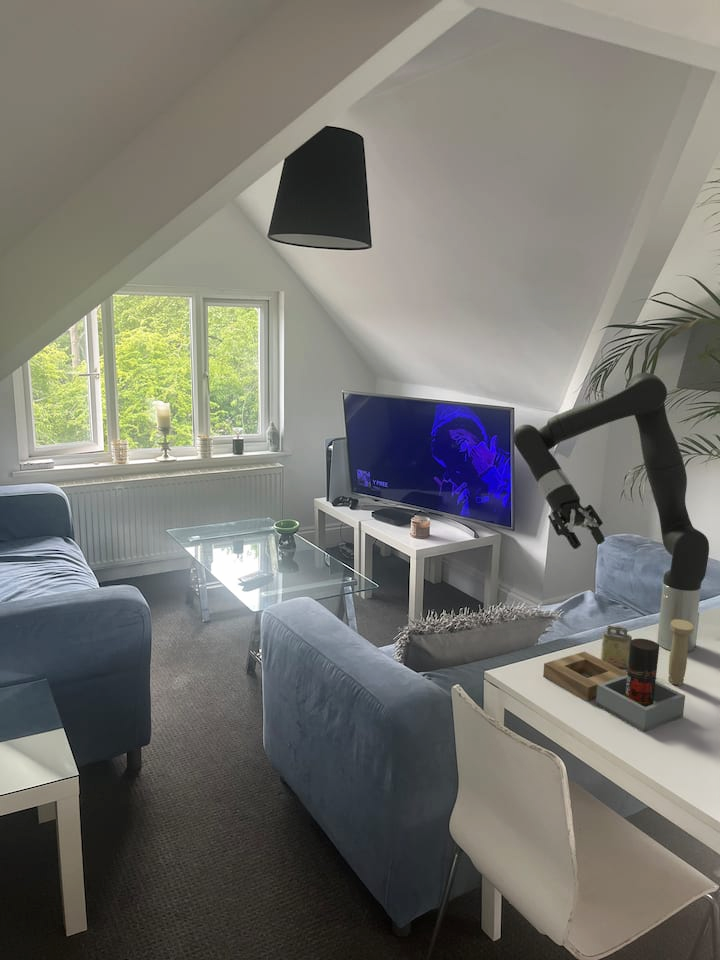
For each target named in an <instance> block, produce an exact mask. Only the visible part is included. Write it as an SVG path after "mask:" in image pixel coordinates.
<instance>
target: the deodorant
mask: <svg viewBox="0 0 720 960" xmlns="http://www.w3.org/2000/svg"><path fill="white" fill-rule="evenodd" d="M659 653H660V645H659V644H658V643H657V641H656V642H655V641H653V640H650V639H646V638H634V639H633V638H632V640H631V642H630V651H629V662H628V668H627V671H626V672H627V682H626V692H625V697H627V698H629V699H631V700H633V701H635V702H637V703H638V704H640V705H642V706H644V707H647V706H649V705H652V704H653V701H654V692H655V683H656V682H657V681H656V680H657V672H658V671H657V670H658V664H659V663H658V661H659V655H660V654H659Z"/></svg>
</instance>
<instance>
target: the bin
mask: <svg viewBox="0 0 720 960" xmlns="http://www.w3.org/2000/svg"><path fill="white" fill-rule="evenodd" d="M626 682H627V675H625V676H622V677H619V678H616V679H613V680H610V681H607V682H604V683H601V684H598V685H597V696H596V699H595V706H597V707H598V708H600V709H602V710H604V711H606V712H608V713H609V714H611V715H613V716H615V717H616V718H618V719H620V720H621V721H624V722H625V723H627V724H629V725H631V726H632V727H634V728H636V729H637V730H640V731H641V732H643V733H645V732H647V731H650V730H652V729H655V728H658V727H659V726H662V725H666V724H667V723H670V722H672V721H676V720H677V719H680V718H682V717H684V712H685V711H684V710H685V704H686V703H685V701H686V695H685V694H683V693H681V692H678V691H677V690H675V689H673V688H671V687H669V686H666V685H664V684H662V683H660V682H658V681H656V683H655V692H654V701H653V704H652V705H649V706H647V707H644V706H642V705H640V704H638V703H637V702H635V701H633V700H631V699H629V698H627V697H625V692H626Z"/></svg>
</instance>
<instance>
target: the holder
mask: <svg viewBox="0 0 720 960" xmlns="http://www.w3.org/2000/svg"><path fill="white" fill-rule="evenodd" d="M627 672H628V671H625V670H623V669H622V668H620V667H615V666H613V665H611V664H609V663H607V662H605V661H603V660H601V658H599V657H597V656H595V655H593V654H591V653H589V652H586V651H581V652H578V653H575V654H571V655H568V656H565V657H560V658H558V659H555V660H552V661H548V662H545V663H543V675H542V676H543V677H544V678H545V679H546V680H549V681H550V682H552V683H554V684H555V685H557V686H559V687H560V688H563V689H565V690H566V691H567V692H569V693H572V694H573V695H574V696H577V697H579V698H580V699H582V700H584V701H586V702H589V701H593V700H596V696H597V685H598V684H601V683H604V682H607V681H610V680H613V679H616V678H619V677H622V676H625V675H627ZM583 673H585V674H587V675H588V676H590V677H587V676H584V675H582V674H583Z"/></svg>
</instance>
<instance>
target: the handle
mask: <svg viewBox="0 0 720 960" xmlns="http://www.w3.org/2000/svg"><path fill="white" fill-rule="evenodd" d="M670 629H671V630H672V631H673V632H674V633H673V640H672V646H671V650H670V652H669V658H668V682H669V683H671V684H672V685H673V684H674V685H676V686H681V685H682V684H683V683H684V680H685V679H684V678H685V676H686V675H685V674H686V671H687V665H688V664H687V663H688V652H687V648H688V635H689V634H692V632H693V625H692V624H691V623H690V622H689V621H685V620H679V619H674V620H672V621H671V625H670ZM674 685H673V686H674Z"/></svg>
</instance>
